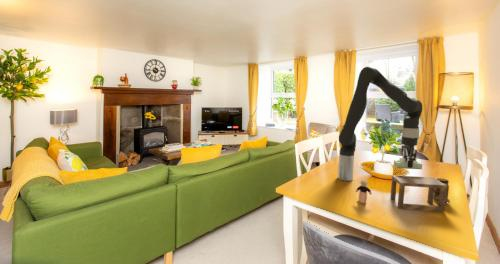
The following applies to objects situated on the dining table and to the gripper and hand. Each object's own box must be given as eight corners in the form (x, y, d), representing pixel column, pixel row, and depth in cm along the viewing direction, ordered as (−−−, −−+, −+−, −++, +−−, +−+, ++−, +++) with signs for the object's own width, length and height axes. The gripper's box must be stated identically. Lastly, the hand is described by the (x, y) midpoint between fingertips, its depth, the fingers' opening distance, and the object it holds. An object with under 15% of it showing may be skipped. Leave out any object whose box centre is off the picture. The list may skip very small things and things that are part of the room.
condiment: (431, 201, 132) (433, 179, 131) (432, 196, 139) (435, 176, 137) (448, 205, 128) (451, 182, 126) (449, 199, 134) (451, 178, 132)
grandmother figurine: (354, 203, 130) (356, 180, 129) (355, 200, 134) (356, 177, 132) (371, 205, 127) (372, 182, 126) (370, 202, 131) (372, 179, 129)
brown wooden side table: (398, 208, 124) (401, 182, 122) (390, 199, 135) (392, 175, 133) (443, 212, 120) (446, 185, 118) (431, 201, 131) (433, 177, 130)
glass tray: (397, 168, 136) (398, 159, 135) (393, 165, 142) (394, 156, 141) (421, 169, 134) (422, 160, 133) (416, 166, 140) (417, 157, 139)
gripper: (397, 134, 143) (395, 162, 145) (407, 138, 129) (405, 169, 131) (411, 134, 142) (409, 162, 144) (423, 138, 128) (421, 169, 130)
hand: (407, 165), depth 138 cm, fingers closed on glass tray, 6 cm apart
